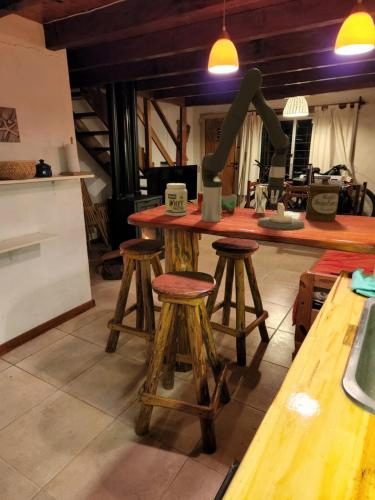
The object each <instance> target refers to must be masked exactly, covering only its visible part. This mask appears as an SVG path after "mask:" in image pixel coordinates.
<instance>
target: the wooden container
mask: <svg viewBox="0 0 375 500" xmlns="http://www.w3.org/2000/svg"><path fill="white" fill-rule="evenodd" d="M329 180H330V178H329V177H327V176H323V177H322V178H321V181H319V182H315V183H314V182H313V183H309V187H308V195H307V203H306V211H305V219H306V220H310V221H313V222H314V221H315V222H326V223H328V222H334V221H335V220H336V215H337V209H338V203H339V195H340V186H341V185H340V184H338V183H330V182H329Z"/></svg>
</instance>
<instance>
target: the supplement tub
mask: <svg viewBox="0 0 375 500" xmlns="http://www.w3.org/2000/svg"><path fill="white" fill-rule="evenodd" d="M186 187H187V186H186V183H180V182H177V183H175V182H172V183H171V182H169V183H167V184H166V189H165V192H164V195H165V196H164V198H165V207H164V208H165V214H166V215H167V216H171V217H183V216H185V215H187V214H188V190H187V188H186Z"/></svg>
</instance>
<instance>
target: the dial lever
mask: <svg viewBox="0 0 375 500" xmlns="http://www.w3.org/2000/svg"><path fill="white" fill-rule="evenodd" d="M285 209H286V208H285V205H284V203H283V202H280V203H277V205H276V213H273V214H270V217H271V219H270V221H272V222H277V223H290V222H291V221H292V218H293V216H292V215H289V214H285Z"/></svg>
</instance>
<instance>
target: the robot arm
mask: <svg viewBox="0 0 375 500" xmlns="http://www.w3.org/2000/svg"><path fill="white" fill-rule="evenodd" d="M262 83H263V74H262V72H261V71H260V69H258V68H251V69H248V70H247V71H246V72H245V73H244V75H243V77H242V80H241V84H240V86H239V89H238V92H237V94H236V96H235V97H234V99H233V101H232V103H231V105H230V106H229V109H228V110H227V113H226V115H225V117H224V119H223V121H222V123H221V126H220V134H219V135H220V138H219V141H218V145H217V146H216V148H215V150H214V152H211V153H207V154H205V155H204V156H203V157H202V160H201V180H202V185H203V187H202V188H203V189H202V191H203V201H202V211H201V215H200V216H201V218H200V219H201V220H202V221H203V222H204V223H205V222H208V223H214V222H215V223H216V222H217V223H218V222H221V217H222V215H221V214H222V203H221V196H222V189H223V185H222V184H223V183H222V180H221V179H220V178H219V177H220V176H219V173H221V172H222V171H223V170H224V169H225V167H226V165H227V162H228V160H229V156H230V153H231V151H232V148H233V146H234V143H235V142H236V139H237V137H238V135H239V133H240V131H241V129H242V127H243V125H244V123H245V120H246V117H247V114H248V113H249V107H250V105H251V104H252V105H253V108H254V109H255V110H256V112H257V114H258V116H259V118H260V120H261V122H262V124H263V125H264V128H265V130H266V131H267V134H268V137H269V140H270V142H271V144H272V146H273V148H274V151H273V155H271V161H270V169H269V173H268V185H267V190H265V191H263V192H262V193H263V195H264V196H265V198H266V199H267V200H266V202H268V203H270V207H269V209H270V211H273V212H274V211H275V210H277V205H278V203H282V201H283V200H284V199H285V198H286V197H287V196H288V192H286V191H285V188H284V184H285V178H286V165H287V157H288V156H287V155H288V152H289V148H290V137H289V135H287V134H286V133H285V132H284V130H283V129H282V124H281V121H280V119H279V117H278V116H277V115H278V114H277V113H276V111H275V110H274V108H273V107H272V105H270V104H269V103H268V102H267V100H266V99H265V97H264V95H263V93H262V90H261V86H262ZM267 191H268V194H267ZM268 195H269V196H270V198H269V196H268ZM281 195H282V196H281Z"/></svg>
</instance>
